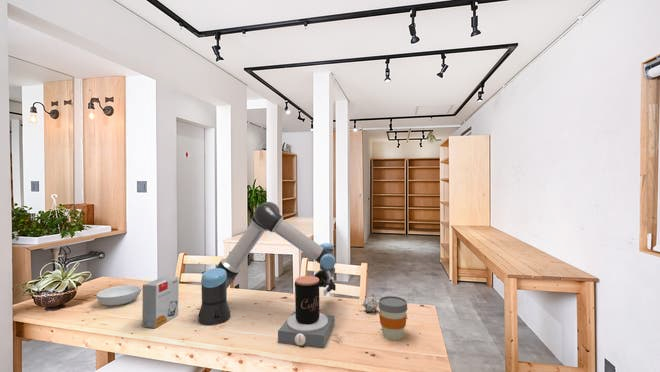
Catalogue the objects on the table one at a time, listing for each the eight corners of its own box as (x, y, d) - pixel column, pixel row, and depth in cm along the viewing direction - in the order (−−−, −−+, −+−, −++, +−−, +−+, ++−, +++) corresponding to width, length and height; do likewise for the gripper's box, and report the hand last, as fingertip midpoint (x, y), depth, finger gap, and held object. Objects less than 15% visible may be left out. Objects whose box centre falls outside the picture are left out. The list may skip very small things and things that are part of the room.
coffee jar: (299, 327, 130) (299, 284, 130) (292, 317, 140) (292, 277, 140) (323, 322, 135) (322, 281, 134) (314, 312, 144) (314, 274, 144)
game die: (373, 319, 160) (379, 309, 154) (358, 312, 161) (363, 301, 155) (377, 305, 167) (382, 295, 161) (362, 299, 168) (367, 288, 162)
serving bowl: (146, 301, 176) (146, 289, 176) (102, 313, 160) (101, 300, 160) (134, 293, 190) (134, 282, 190) (92, 303, 174) (92, 291, 174)
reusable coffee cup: (393, 325, 145) (393, 294, 144) (413, 337, 134) (413, 302, 134) (372, 333, 138) (372, 299, 138) (392, 345, 127) (392, 309, 127)
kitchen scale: (277, 343, 129) (276, 328, 129) (294, 321, 149) (294, 309, 149) (323, 349, 124) (323, 333, 124) (334, 325, 145) (334, 312, 145)
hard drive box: (155, 329, 143) (154, 286, 142) (141, 327, 144) (141, 284, 144) (179, 315, 158) (178, 276, 158) (166, 313, 160) (166, 275, 159)
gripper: (345, 286, 157) (336, 302, 137) (299, 283, 163) (284, 297, 143) (345, 271, 157) (336, 285, 137) (299, 269, 163) (284, 281, 142)
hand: (309, 291), depth 139 cm, fingers open, 13 cm apart
